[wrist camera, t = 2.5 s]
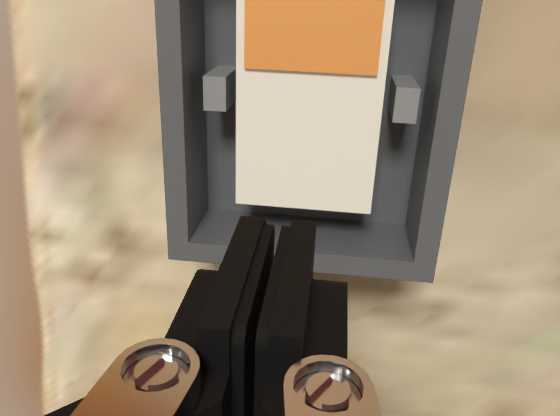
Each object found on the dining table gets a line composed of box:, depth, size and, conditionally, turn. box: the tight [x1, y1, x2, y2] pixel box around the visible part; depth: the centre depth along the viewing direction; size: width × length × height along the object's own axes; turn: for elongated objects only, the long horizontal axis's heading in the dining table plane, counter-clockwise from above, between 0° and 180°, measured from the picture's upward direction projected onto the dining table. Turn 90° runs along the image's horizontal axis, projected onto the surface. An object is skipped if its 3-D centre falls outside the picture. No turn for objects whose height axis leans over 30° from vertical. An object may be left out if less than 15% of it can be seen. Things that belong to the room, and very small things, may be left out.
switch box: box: [155, 0, 483, 283], centre depth 21 cm, size 13×10×6 cm
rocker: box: [236, 0, 395, 214], centre depth 19 cm, size 8×5×1 cm, turn 178°
